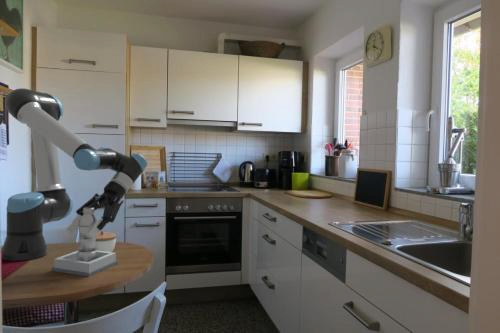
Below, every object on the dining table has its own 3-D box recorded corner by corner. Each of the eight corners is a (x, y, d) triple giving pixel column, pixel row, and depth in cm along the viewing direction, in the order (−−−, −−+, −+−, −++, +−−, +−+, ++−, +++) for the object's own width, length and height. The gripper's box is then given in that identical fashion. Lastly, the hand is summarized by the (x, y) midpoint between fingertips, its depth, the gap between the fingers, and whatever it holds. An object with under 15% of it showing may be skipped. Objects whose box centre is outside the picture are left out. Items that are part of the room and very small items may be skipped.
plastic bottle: (92, 260, 129) (94, 205, 128) (99, 264, 124) (101, 208, 123) (73, 263, 124) (76, 206, 124) (80, 268, 119) (82, 209, 119)
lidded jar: (95, 260, 132) (96, 235, 132) (81, 254, 138) (81, 230, 138) (121, 254, 140) (121, 231, 140) (106, 249, 147) (107, 227, 147)
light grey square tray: (51, 270, 119) (51, 259, 119) (83, 258, 133) (83, 248, 133) (89, 276, 115) (89, 264, 115) (117, 263, 129) (117, 252, 129)
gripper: (145, 196, 131) (108, 245, 118) (103, 190, 142) (66, 234, 130) (134, 182, 126) (95, 232, 113) (92, 177, 138) (52, 222, 125)
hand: (79, 233), depth 121 cm, fingers open, 11 cm apart
